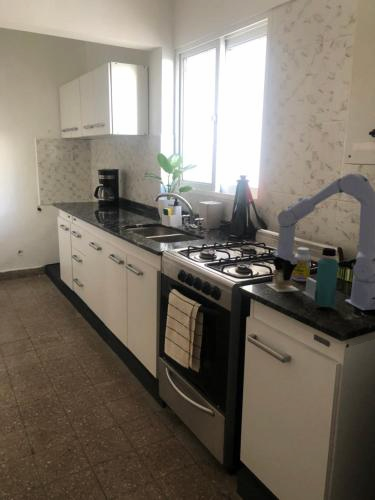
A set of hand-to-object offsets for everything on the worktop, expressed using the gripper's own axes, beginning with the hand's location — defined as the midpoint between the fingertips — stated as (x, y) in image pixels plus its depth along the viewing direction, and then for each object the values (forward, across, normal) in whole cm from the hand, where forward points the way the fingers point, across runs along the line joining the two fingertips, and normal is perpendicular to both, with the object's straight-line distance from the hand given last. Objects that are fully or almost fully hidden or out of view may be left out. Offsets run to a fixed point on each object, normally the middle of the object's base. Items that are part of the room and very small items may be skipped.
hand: (282, 278), depth 157 cm
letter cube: (+2, 0, 0) cm, 2 cm away
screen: (+4, +12, +6) cm, 13 cm away
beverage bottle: (+4, +23, +3) cm, 23 cm away
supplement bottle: (+4, -9, +13) cm, 16 cm away
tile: (+4, 0, 0) cm, 4 cm away
